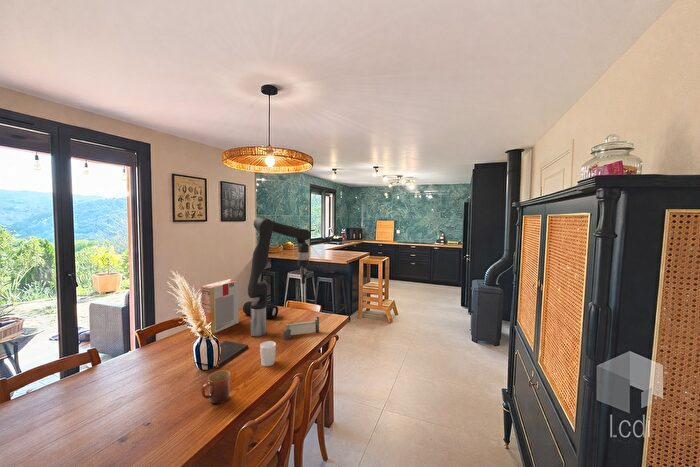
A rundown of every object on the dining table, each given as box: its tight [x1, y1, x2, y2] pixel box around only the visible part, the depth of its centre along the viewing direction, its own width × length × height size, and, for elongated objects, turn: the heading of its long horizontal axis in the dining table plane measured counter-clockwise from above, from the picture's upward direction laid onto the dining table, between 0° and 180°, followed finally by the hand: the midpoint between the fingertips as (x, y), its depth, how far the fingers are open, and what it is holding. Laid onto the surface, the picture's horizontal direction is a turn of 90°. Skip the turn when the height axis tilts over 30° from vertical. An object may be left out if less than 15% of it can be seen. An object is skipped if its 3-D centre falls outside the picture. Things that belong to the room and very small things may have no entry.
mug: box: [200, 369, 232, 404], centre depth 118 cm, size 12×9×10 cm
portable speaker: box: [242, 300, 279, 319], centre depth 215 cm, size 26×10×10 cm, turn 71°
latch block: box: [282, 329, 292, 340], centre depth 178 cm, size 4×2×5 cm, turn 112°
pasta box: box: [200, 278, 240, 335], centre depth 192 cm, size 23×8×30 cm, turn 156°
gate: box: [285, 320, 315, 336], centre depth 184 cm, size 18×2×7 cm, turn 111°
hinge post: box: [314, 316, 320, 334], centre depth 188 cm, size 2×2×10 cm
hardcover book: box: [193, 340, 249, 369], centre depth 156 cm, size 16×23×2 cm
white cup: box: [259, 340, 277, 367], centre depth 148 cm, size 8×8×10 cm
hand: (303, 283), depth 199 cm, fingers closed
